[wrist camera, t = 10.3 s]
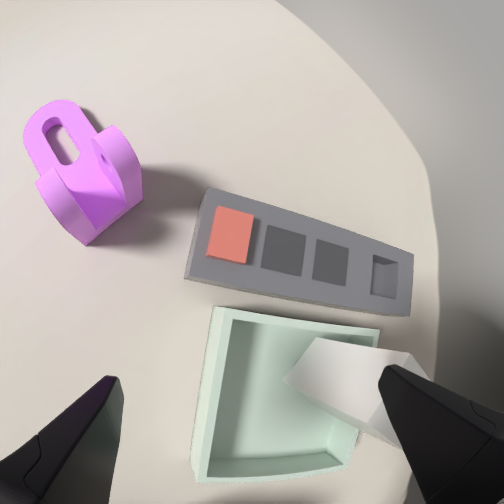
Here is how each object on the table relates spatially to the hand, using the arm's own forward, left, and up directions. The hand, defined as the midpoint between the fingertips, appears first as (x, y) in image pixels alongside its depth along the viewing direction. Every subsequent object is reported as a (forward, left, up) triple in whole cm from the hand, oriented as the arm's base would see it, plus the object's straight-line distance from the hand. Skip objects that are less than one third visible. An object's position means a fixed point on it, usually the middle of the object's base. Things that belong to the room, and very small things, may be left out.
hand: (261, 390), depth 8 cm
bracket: (+11, +13, -13) cm, 21 cm away
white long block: (-1, -9, -12) cm, 15 cm away
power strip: (+7, -8, -12) cm, 16 cm away
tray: (-4, -7, -12) cm, 15 cm away
